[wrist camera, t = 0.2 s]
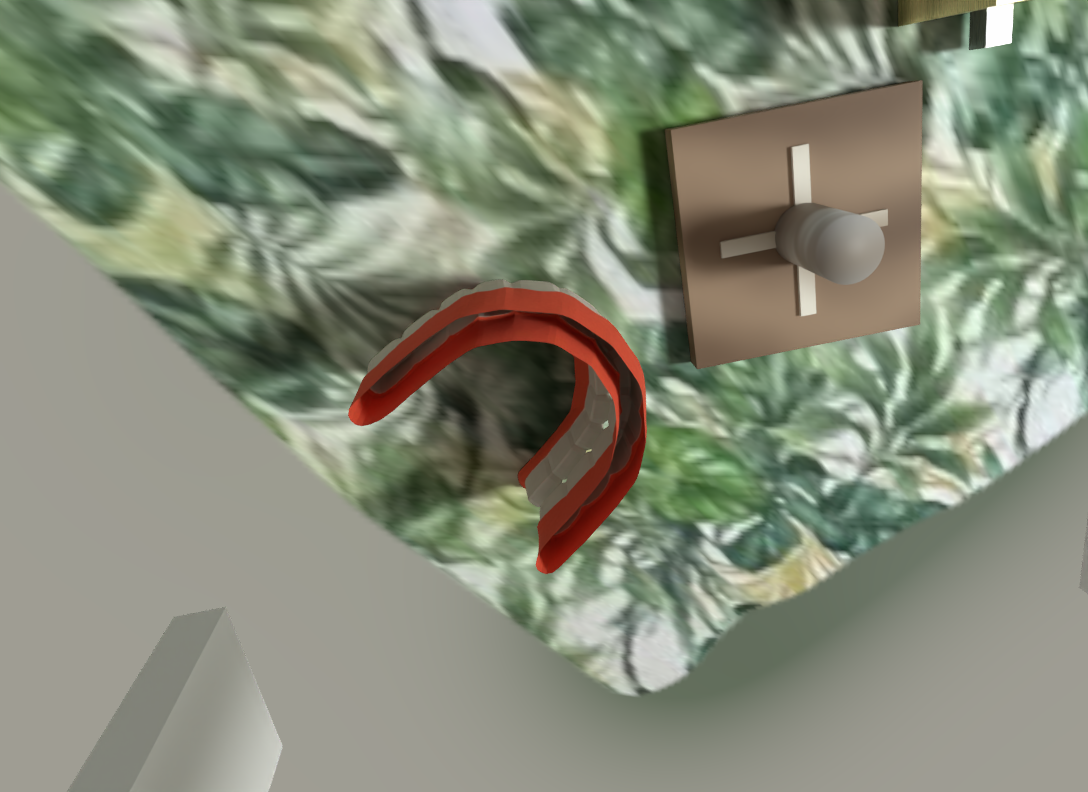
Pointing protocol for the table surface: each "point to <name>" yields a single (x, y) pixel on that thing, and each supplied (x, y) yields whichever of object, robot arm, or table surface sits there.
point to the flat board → (799, 223)
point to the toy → (598, 372)
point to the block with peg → (987, 17)
